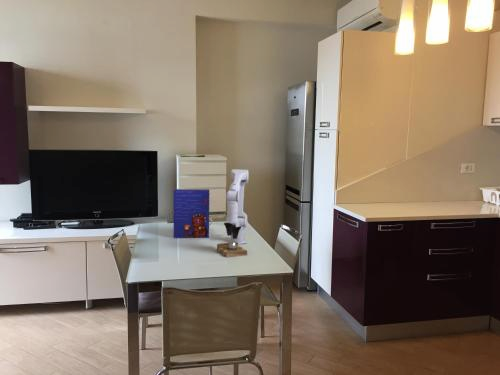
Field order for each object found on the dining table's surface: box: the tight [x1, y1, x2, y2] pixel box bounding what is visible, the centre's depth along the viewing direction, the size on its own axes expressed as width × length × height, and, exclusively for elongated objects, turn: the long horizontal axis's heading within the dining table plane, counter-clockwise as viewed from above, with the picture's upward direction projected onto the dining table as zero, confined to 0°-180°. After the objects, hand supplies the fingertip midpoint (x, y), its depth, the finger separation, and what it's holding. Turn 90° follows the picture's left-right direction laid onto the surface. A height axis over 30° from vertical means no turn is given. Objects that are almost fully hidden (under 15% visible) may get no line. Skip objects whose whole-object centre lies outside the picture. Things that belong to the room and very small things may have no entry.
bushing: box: [228, 241, 236, 250], centre depth 241 cm, size 4×4×6 cm
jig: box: [216, 242, 248, 258], centre depth 241 cm, size 14×12×4 cm
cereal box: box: [173, 188, 210, 239], centre depth 273 cm, size 22×6×30 cm, turn 96°
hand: (232, 237), depth 241 cm, fingers open, 7 cm apart
